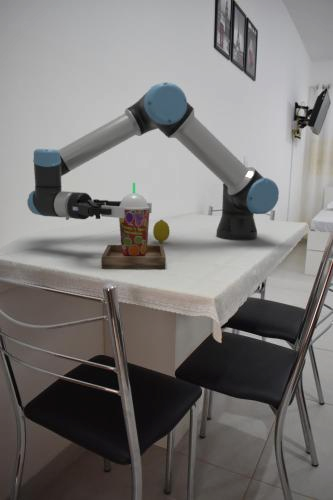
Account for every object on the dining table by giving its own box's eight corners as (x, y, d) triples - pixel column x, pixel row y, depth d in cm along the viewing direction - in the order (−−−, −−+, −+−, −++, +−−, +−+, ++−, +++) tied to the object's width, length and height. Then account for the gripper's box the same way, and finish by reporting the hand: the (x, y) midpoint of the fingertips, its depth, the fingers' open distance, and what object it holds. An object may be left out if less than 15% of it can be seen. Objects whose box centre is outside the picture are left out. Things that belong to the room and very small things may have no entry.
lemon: (169, 241, 135) (170, 218, 133) (168, 244, 129) (168, 220, 128) (154, 241, 135) (154, 218, 134) (152, 244, 130) (152, 220, 128)
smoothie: (119, 261, 101) (118, 183, 97) (118, 254, 109) (117, 182, 105) (151, 260, 102) (151, 183, 98) (147, 254, 110) (148, 182, 106)
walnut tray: (163, 255, 114) (163, 245, 113) (165, 269, 98) (165, 257, 98) (108, 254, 113) (108, 244, 112) (101, 268, 97) (101, 257, 97)
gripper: (101, 214, 123) (160, 219, 114) (43, 223, 101) (110, 230, 92) (100, 190, 122) (160, 193, 112) (41, 194, 100) (110, 198, 90)
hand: (138, 210), depth 102 cm, fingers open, 13 cm apart
